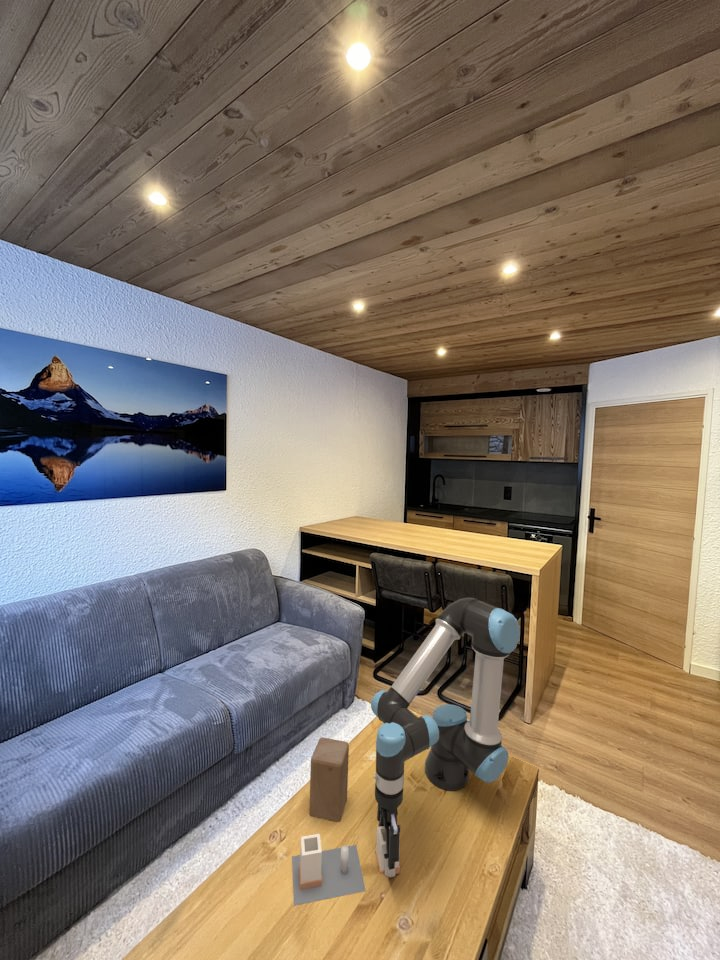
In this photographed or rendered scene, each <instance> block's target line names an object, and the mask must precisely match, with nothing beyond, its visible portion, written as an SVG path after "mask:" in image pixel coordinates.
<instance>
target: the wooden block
mask: <svg viewBox="0 0 720 960" xmlns="http://www.w3.org/2000/svg"><path fill="white" fill-rule="evenodd" d="M349 751H350V745H349V742H347V741H344V740H338V739H332V738H327V737H319V739H318V741H317V744H316V746H315V749H314V750H313V753H312V755H311V756H310V757H311V758H310V773H309V774H310V777H309V816H310V817H312V818H317V819H321V820H325V821H330V822H334V823H340V822H341V821H342V818H343V814H344V810H345V806H346V803H347V800H348V785H349V783H348V781H349V755H350V754H349Z"/></svg>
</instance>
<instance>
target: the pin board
mask: <svg viewBox="0 0 720 960" xmlns="http://www.w3.org/2000/svg"><path fill="white" fill-rule="evenodd" d="M291 862H292V863H291V867H292V869H291V871H292V889H293V890H292V893H293V894H292V895H293V906H299V905H305V904H309V903H314V902H319V901H323V900H329V899H334V898H338V897H339V898H340V897H344V896H349V895H353V894H357V893H362V892H366V886H365V885H366V884H365V881H364V876H363V870H362V865H361V862H360V857H359V852H358V846H357V845H356V844H354V845H353V844H352V845H349V846H348V845H346V844H344V845H342V846H341V847H338V848H337V847H336V848H330V849H325V850H322V864H321V874H322V886H317V887H312V888H307V889H302V890H300V875H299V862H300V854H297V855H293V856H291Z"/></svg>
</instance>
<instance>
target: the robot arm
mask: <svg viewBox="0 0 720 960" xmlns="http://www.w3.org/2000/svg"><path fill="white" fill-rule="evenodd" d="M434 620H435V625H434V627H433V628H432V630H431V631H430V632H429V634H428V635H427V636H426V638H425V639H424V641H423V642H422V643H421V645H420V646H419V647H418V648H417V650H416V652H414V654H413V655H412V657H411V659H410V660H409V661H408V663H407V664H406V665H405V667H404V668H403V669H402V671H401V673H400V674H399V675H398V676H397V678H396V679H395V681H394V682H393V684H392V685H391V686H390V687H389V689H388V690H384V689H380V690H378V692H376V693H374V695H373V697H372V699H371V702H370V703H371V704H370V708H371V711H372V713H373V714H374V716H376V717H377V718H378V721H380V722H382V724H381V725H380V726H379V727H378V729H377V732H376V741H375V774H373V779H375V784H374V785H375V786H374V799H375V801H376V803H377V812H376V813H377V815H376V820H377V822H378V827H380V826H384V827H385V829H386V850H387V853H385V854H384V858H385V873H384V875H385V876H387V878H389V879H390V878H393V877H396V874H395V866H396V862H398V861H399V862H400V854H399V840H400V835H401V825H400V824H398V816H399V815H398V814H399V813H398V808H399V807H400V806H401V805H402V803H403V800H404V783H405V782H404V781H405V779H404V778H405V762H406V761H408V760H410V759H412V758H413V757H416V756H417V755H419V754H421V753H422V752H425V751H426V750H429V749H430V750H429V752H428V754H427V757H426V759H425V763H424V771H425V775H426V777H427V778H428V780H429V781H430V782H431V783H432V784H433V785H435V786H436V787H438V788H440V789H442V790H445V791H453V792H454V791H458V790H462V789H464V787H466V786H467V784H468V782H469V775H470V772H471V773H472V774H474V775H475V777H477V778H479V779H480V780H482V781H483V782H484V783H488V784H489V783H493V782H495V781H496V780H497V779H498V778H500V776H501V775H502V774H503V772H504V771H505V769H506V767H507V764H508V760H509V752H508V750H507V749H506V747H505V746H503V745H502V740H503V736H502V735H503V734H502V732H501V730H500V728H499V715H500V707H501V695H502V694H501V693H502V683H503V682H502V681H503V672H504V660H505V658H507V657H509V655H510V654H511V653H512V652H514V651H515V649H516V648H517V646H518V643H519V642H520V636H521V633H520V632H521V630H520V625H519V622H518V620H517V618H516V617H515V615H514V614H512V613H510V612H508V611H506V610H505V609H503V608H501V607H500V608H499V607H497V606H494V605H492V604H490V603H486V602H485V601H482V600H480V599H477V598H474V597H463V598H460V599H457V600H455V601H454V602H451V603H450V604H449V605H447V606H446V607H445V608H444V609H443V610H442V611H440V613H439V614H438V616H437V618H435V619H434ZM464 634H467V635H469V636H471V648H472V650H473V651H474V652H475V656H474V657H475V658H474V669H473V680H472V692H471V693H472V694H471V704H470V715H469V721H468V715H467V711H466V710H465V709H464V708H463V707H462V706H461V707H460V706H458V705H455V704H442V705H439V706H437V707H435V708H434V710H433V712H432V716H431V715H428V714H424V715H420V716H417V715H416V714H415V713H413V712H412V711H411V710H410V709H409V707H410V704H412V702H413V701H414V699H415V698H416V696H417V695H418V693H419V692H420V690H421V689H422V687H423V686H424V685H425V684H426V682H427V680H428V679H429V678H430V676H431V675H432V674H433V672H434V670H435V669H436V668H437V666H438V665H439V663H440V662H441V660H443V657H444V656H445V654H446V653H447V652H448V650H449V648H450V647H451V646H452V645H453V643H454V642H455V641H456V640H460V639H461V637H462V636H463V635H464Z"/></svg>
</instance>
